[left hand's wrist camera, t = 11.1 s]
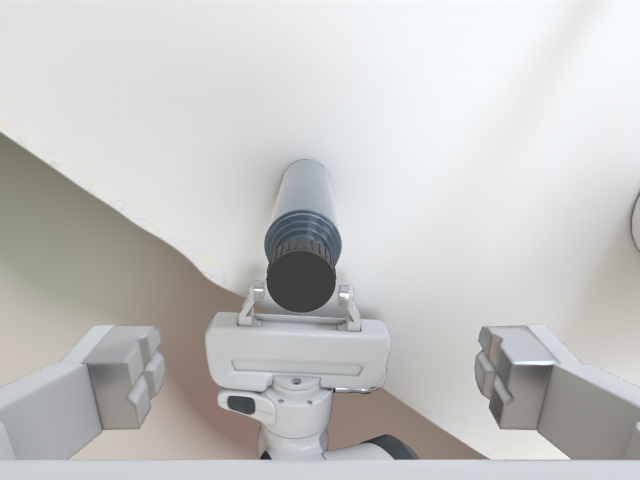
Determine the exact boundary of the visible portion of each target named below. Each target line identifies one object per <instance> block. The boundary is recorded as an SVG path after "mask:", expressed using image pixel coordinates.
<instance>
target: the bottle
mask: <svg viewBox="0 0 640 480" xmlns="http://www.w3.org/2000/svg"><path fill="white" fill-rule="evenodd" d="M296 238H307V239H314V240H315V241H317V242H319V243H321V244H322V245H323V246H324V247H326V248H327V250H328V251H329V253H331V255H332V259H333V260H334V264H335V265H336V263H337V261H338V259H339V257H340V254H341V248H342V242H341V236H340V231H339V225H338V220H337V214H336V209H335V203H334V198H333V192H332V187H331V181H330V177H329V174H328V172H327V170H326V169H325V168H324V167H323V166H322V165H321V164H320V163H318V162H316V161H313V160H308V159H305V160H299V161H296V162H294V163H293V164H291V165H290V166H289V167H288V168H287V170H286V171H285V173H284V176H283V179H282V182H281V185H280V189H279V192H278V196H277V199H276V202H275V206H274V209H273V212H272V216H271V219H270V223H269V226H268V229H267V233H266V236H265V242H264V247H265V253H266V256H267V259H268V262H269V261H270V260H271V255H273V254H274V252H275V249H276V248H278V247H279V246H280V245H281V244H282V243H285V242H287V241H288V240H292V239H296Z"/></svg>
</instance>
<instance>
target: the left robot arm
mask: <svg viewBox="0 0 640 480" xmlns="http://www.w3.org/2000/svg"><path fill="white" fill-rule="evenodd" d="M161 341H162V340H161V336H160V330H159V329H158V328H157V327H156V326H127V325H117V326H116V325H97V326H93V327H92V328H91V329H90V330H89V331H88V332H87V333H86V334H85V335H84V336H83V337H82V338H81V339H80V340H79V341H78V342H77V343H76V344H75V346H74V347H73V348H72V349H71V350H70V351H69V352H68V353H67V354H66V355H65V356H64V357H63V358H62V359H61V360H60V361H59V362H58V363H57V364H49V365H47V366H45V367H43V368H40V369H38V370H36V371H34V372H32V373H30V374H28V375H25V376H23V377H21V378H19V379H17V380H15V381H12V382H10V383H8V384H6V385H4V386H2V387H0V480H640V387H638V386H636V385H634V384H632V383H630V382H627V381H625V380H623V379H621V378H619V377H617V376H615V375H612V374H610V373H608V372H606V371H604V370H602V369H599V368H597V367H595V366H593V365H591V364H583V363H582V362H581V361H580V360H579V359H578V358H577V357H576V356H575V355H574V354H573V353H572V352H571V351H570V350H569V349H568V348H567V346H566V345H565V344H564V343H563V342H562V341H561V340H560V339H559V338H558V337H557V336H556V335H555V334H554V333H553V332H552V331H551V330H550V329H549V328H548V327H547V326H544V325H525V326H492V327H482V329H481V331H480V335H479V340H478V341H479V343H480V345H481V346H482V348H483V349H482V350H481V351H480V352H479V354H478V355H477V356H476V360H475V377H476V382H477V385H478V388H479V390H480V392H481V394H482V395H484V396H485V397H487V398H488V399H490V404H489V409H490V411H491V413H492V415H493V416H494V418H495V420H496V422H497V424H498V426H499V428H500V429H515V430H538V431H537V432H538V433H539V434H541V435H542V436H543V437H544V438H546V439H547V440H548V441H549V442H551V443H552V444H553V445H554V446H556V447H557V448H558V449H559V450H561V451H562V452H563V453H564V454H566V455H567V456H568V457H569V458H571V459H572V460H68V459H70V458H71V457H72V456H73V455H75V454H76V453H77V452H78V451H80V450H81V449H82V448H83V447H85V446H86V445H87V444H88V443H89V442H91V441H92V440H93V439H94V438H96V437H97V436H98V435H99V434H101V433H102V430H124V429H140V428H141V426H142V424H143V422H144V420H145V418H146V416H147V415H148V413H149V411H150V409H151V404H150V399H152V398H153V397H155V396H156V395H158V394H159V392H160V390H161V387H162V385H163V381H164V377H165V359H164V356H163V355H162V354H161V352H160V351H159V350H158V349H157V348H158V346H159V345H160V343H161Z"/></svg>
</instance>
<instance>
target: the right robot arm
mask: <svg viewBox="0 0 640 480" xmlns="http://www.w3.org/2000/svg"><path fill="white" fill-rule="evenodd" d="M632 234H633V238H634V241H635V244H636V246H637V247H638V249H639V250H640V196H639V198H638V200H637V202H636V205H635V208H634V211H633V216H632ZM264 287H265V281H258V280H251V282H250V287H249V296H248V297H247V299H246V300H245V302H244V303H243V304H242V306H241V309H240V312H239V313H237V312H217V313H216V314H215V315H214V316H213V317H212V318H211V319H210V321H209V323H208V325H207V328H206V331H205V348H206V356H207V362H208V367H209V371H210V374H211V376H212V378H213V380H214V381H215V382H216V383H217V384H218V385H219V389H218V397H217V402H218V405H219V406H220V407H222V408H224V409H227V410H231V411H234V412H237V413H240V414H243V415H246V416H249V417H251V418H254V419H256V420H258V421H259V422H260V424H261V426H260V429H259V432H258V438H257V453H258V460H420V459H419V457H418V456H417V454H416V453H415V452H414V451H413V450H412V449H411V448H410V447H409V446H407V445H406V444H405V443H403V442H402V441H400V440H399V439H397V438H395V437H393V436H391V435H382V436H379V437H376V438H373V439H370V440H367V441H365V442H362V443H360V444H358V445H354V446H349V447H345V448H340V449H336V450H332V451H327V449H328V432H327V426H328V424H329V421H330V418H331V410H332V400H333V393H334V392H336V393H354V392H355V393H356V392H357V393H362V394H369V393H371V392H372V391H373V390H377V389H379V388H381V387H383V386H384V384H385V381H386V374H387V368H386V363H387V360H388V357H389V353H390V348H391V337H390V333H389V330H388V328H387V326H386V325H385V324H384V323H383V321H381V320H374V319H360V314H359V311H358V309H357V307H356V305H355V303H354V301H353V297H354V290H353V286H350V285H339V292H338V301H339V302H338V303H339V306H346V307H347V309H348V312H347V314H346V318H334V317H315V316H295V315H276V314H256V313H254V307H253V305H254V303H255V302H263V299H264V295H265V288H264Z"/></svg>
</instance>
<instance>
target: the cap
mask: <svg viewBox="0 0 640 480" xmlns="http://www.w3.org/2000/svg"><path fill="white" fill-rule="evenodd" d="M267 273H268V274H267V278H266V281H267V288H268V291H269V294H270V295H271V297H272V298H273V300H274V301H275V302H276V303H277V304H278V305H280V306H281V307H283V308H285V309H287V310H290V311H293V312H310V311H313V310H316V309H318V308H320V307H322V306H323V305H324V304H325V303H326V302H328V300H329V299H330V298H331V296H332V294H333V292H334V289H335V284H336V280H335V279H336V271H335V264H334V260H333V259H332V255H331V253H329V251H328V250H327V248H326V247H324V246H323V245H322V244H321V243H319V242H317V241H315V240H314V239H307V238H296V239H292V240H288V241H287V242H285V243H282V244H281V245H280V246H279V247H278V248H276V249H275V252H274V254H273V255H271V260H270V261H269V265H268V269H267Z"/></svg>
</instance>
